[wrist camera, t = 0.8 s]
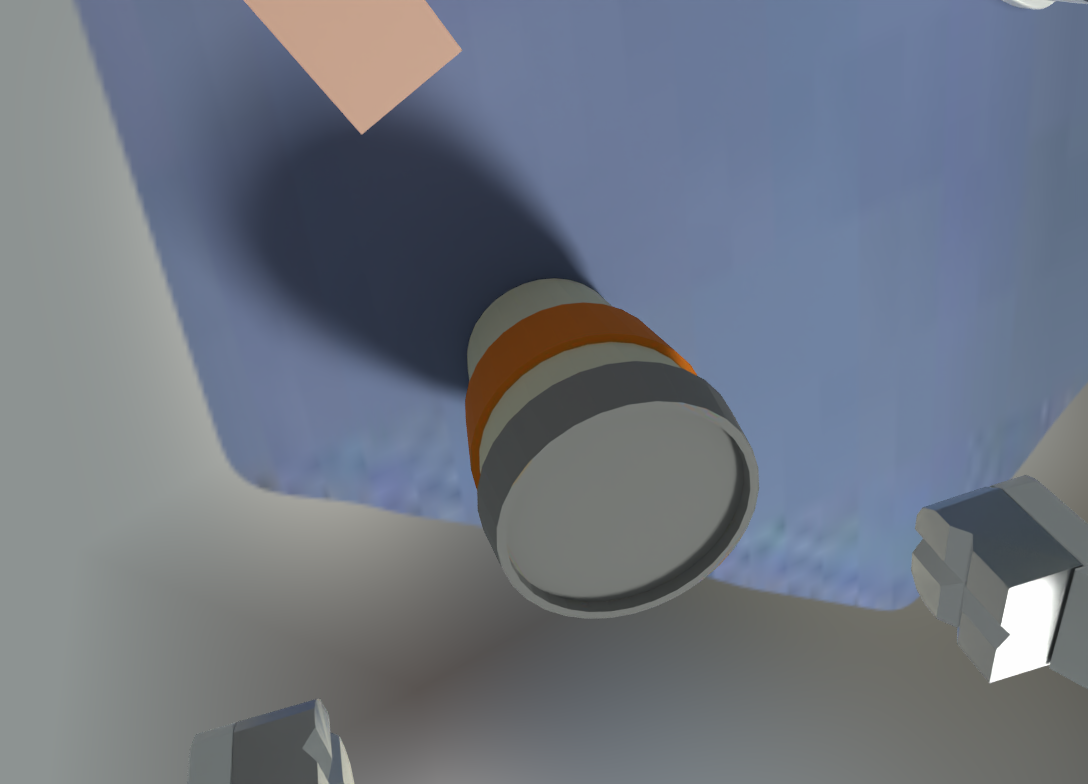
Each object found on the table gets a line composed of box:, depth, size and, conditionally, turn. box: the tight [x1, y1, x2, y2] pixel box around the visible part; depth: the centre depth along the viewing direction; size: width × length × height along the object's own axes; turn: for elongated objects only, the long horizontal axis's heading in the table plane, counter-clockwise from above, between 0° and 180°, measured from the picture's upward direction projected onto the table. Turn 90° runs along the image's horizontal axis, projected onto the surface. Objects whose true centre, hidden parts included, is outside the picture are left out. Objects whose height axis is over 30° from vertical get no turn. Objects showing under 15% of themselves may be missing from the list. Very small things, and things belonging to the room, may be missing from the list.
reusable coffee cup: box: [465, 278, 759, 619], centre depth 45 cm, size 13×13×15 cm
